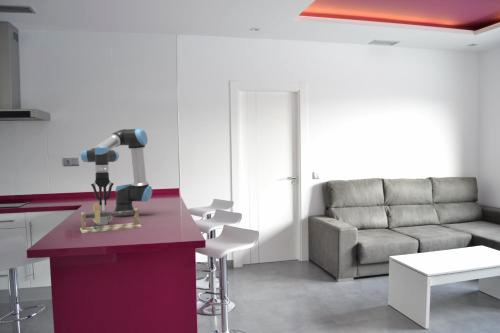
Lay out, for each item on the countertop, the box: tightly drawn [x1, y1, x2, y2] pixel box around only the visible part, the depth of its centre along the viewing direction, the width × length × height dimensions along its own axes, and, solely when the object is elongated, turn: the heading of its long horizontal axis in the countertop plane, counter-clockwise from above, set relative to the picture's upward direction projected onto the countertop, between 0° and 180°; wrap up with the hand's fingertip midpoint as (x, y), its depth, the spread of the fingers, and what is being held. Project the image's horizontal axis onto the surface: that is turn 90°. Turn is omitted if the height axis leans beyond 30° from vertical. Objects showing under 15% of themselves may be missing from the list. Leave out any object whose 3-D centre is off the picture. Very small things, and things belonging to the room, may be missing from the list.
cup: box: [95, 209, 113, 226], centre depth 252 cm, size 7×10×9 cm
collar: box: [92, 202, 101, 224], centre depth 231 cm, size 3×8×11 cm, turn 29°
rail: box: [79, 208, 142, 234], centre depth 235 cm, size 34×12×11 cm, turn 119°
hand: (103, 210), depth 233 cm, fingers closed
